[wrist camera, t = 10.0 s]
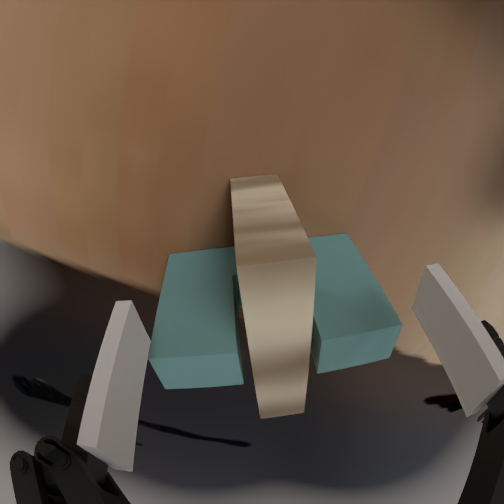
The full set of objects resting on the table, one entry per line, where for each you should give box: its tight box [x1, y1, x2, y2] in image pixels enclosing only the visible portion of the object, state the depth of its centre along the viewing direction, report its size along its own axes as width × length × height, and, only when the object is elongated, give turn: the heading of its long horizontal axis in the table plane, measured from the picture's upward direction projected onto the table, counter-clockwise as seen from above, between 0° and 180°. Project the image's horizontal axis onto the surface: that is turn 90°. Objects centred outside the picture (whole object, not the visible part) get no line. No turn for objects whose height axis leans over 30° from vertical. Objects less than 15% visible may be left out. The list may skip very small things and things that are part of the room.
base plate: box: [148, 233, 402, 389], centre depth 20 cm, size 14×3×10 cm, turn 95°
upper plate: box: [230, 174, 316, 418], centre depth 20 cm, size 14×3×10 cm, turn 5°
